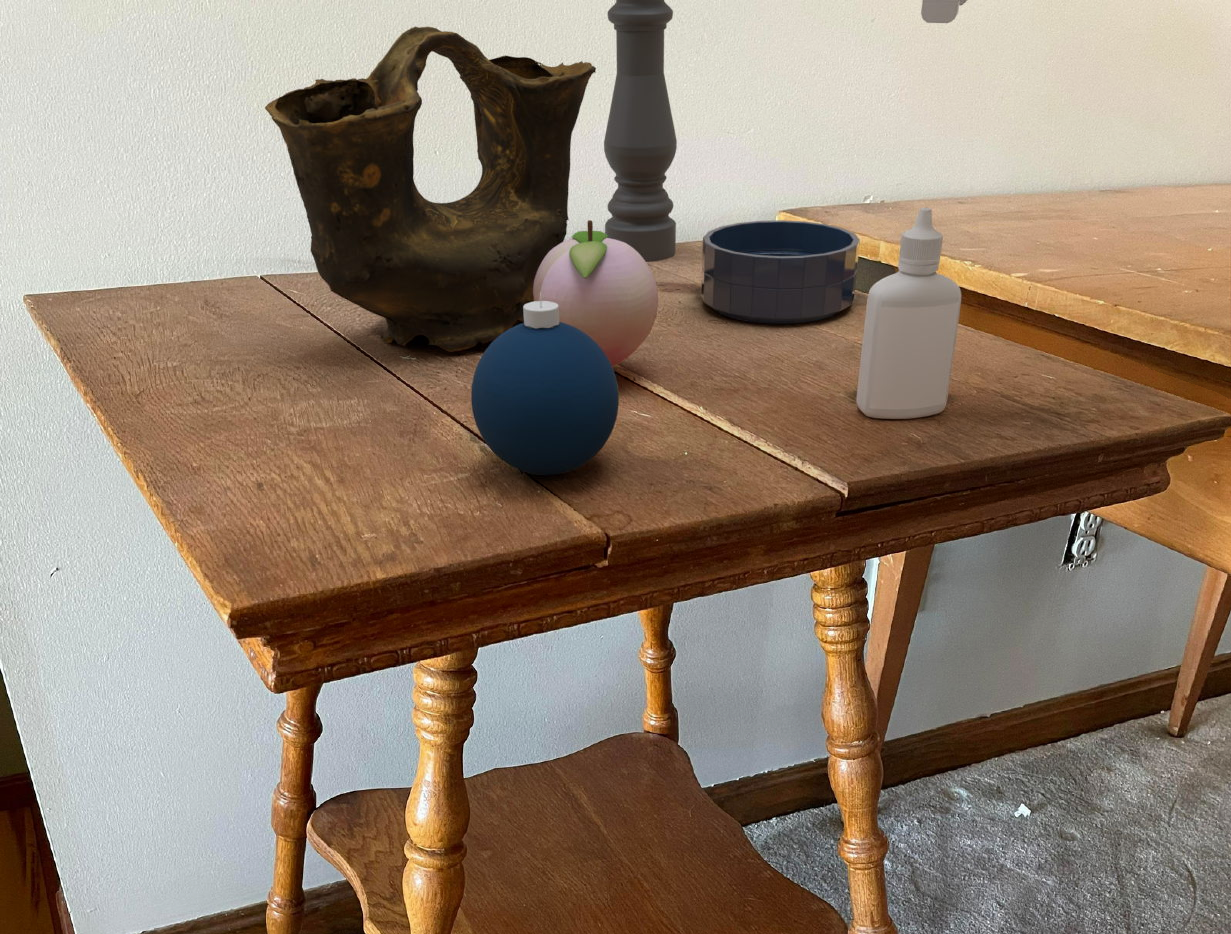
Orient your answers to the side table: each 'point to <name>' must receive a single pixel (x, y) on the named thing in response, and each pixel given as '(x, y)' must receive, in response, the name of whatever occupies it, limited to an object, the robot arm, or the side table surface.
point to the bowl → (779, 270)
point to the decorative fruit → (600, 291)
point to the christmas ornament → (544, 394)
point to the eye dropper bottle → (910, 332)
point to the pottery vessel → (426, 231)
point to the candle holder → (641, 131)
